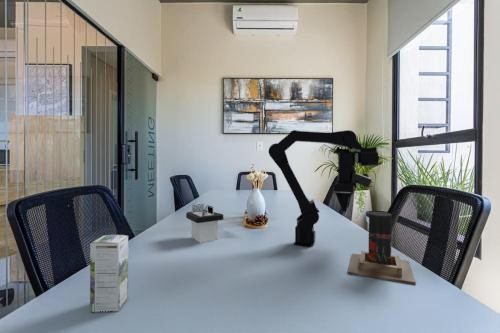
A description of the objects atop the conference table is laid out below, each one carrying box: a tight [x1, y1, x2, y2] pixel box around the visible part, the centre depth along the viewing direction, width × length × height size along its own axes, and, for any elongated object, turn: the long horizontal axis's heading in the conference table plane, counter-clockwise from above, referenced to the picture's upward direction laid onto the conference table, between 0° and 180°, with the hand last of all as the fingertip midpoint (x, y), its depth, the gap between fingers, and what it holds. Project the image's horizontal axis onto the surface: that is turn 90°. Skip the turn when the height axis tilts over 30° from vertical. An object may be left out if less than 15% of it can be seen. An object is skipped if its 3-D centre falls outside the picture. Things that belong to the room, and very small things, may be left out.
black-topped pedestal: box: [185, 203, 224, 244], centre depth 110 cm, size 28×26×13 cm
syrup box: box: [89, 234, 129, 313], centre depth 60 cm, size 6×6×14 cm
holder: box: [347, 250, 417, 285], centre depth 81 cm, size 16×16×3 cm
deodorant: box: [367, 211, 393, 265], centre depth 81 cm, size 6×6×15 cm
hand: (345, 209), depth 101 cm, fingers open, 9 cm apart
